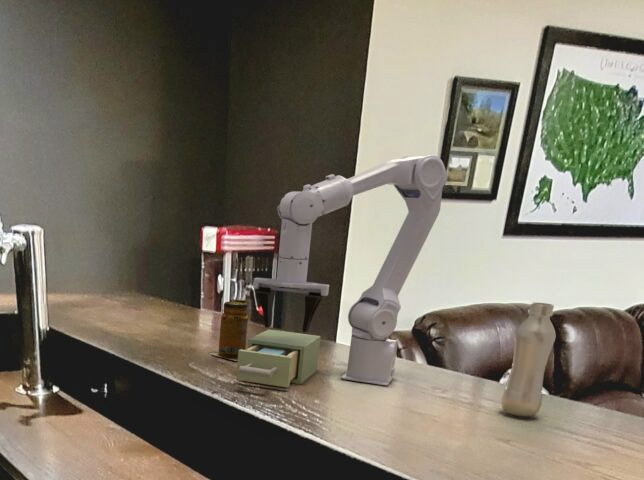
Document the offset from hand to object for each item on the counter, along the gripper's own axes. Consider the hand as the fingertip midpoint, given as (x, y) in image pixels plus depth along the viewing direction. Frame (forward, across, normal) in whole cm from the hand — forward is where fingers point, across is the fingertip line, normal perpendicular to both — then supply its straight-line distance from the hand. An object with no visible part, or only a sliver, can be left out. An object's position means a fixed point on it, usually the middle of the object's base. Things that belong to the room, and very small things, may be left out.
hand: (286, 329), depth 142 cm
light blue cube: (+8, -2, -4) cm, 9 cm away
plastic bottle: (+11, +44, 0) cm, 46 cm away
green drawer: (+9, -2, -5) cm, 11 cm away
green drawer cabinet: (+10, -2, +6) cm, 12 cm away
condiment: (+10, -16, +15) cm, 24 cm away
